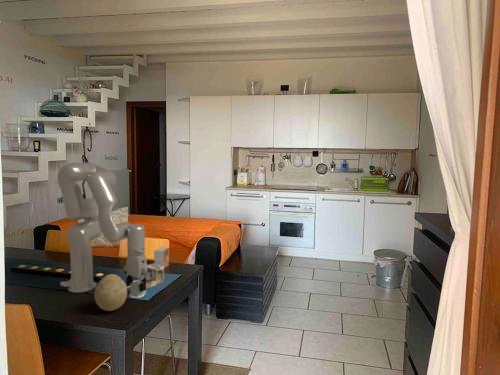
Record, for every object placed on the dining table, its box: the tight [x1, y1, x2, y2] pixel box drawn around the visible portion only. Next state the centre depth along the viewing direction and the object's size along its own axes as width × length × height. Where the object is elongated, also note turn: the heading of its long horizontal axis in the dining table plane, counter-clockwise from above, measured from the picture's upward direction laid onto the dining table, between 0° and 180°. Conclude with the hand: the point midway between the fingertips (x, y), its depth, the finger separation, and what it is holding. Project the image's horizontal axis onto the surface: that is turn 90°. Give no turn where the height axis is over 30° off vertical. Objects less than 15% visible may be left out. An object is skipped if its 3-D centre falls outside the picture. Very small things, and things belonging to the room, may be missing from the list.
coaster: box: [128, 293, 146, 299], centre depth 166 cm, size 7×7×1 cm
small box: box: [153, 246, 170, 269], centre depth 206 cm, size 8×6×10 cm
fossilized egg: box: [93, 273, 128, 312], centre depth 150 cm, size 13×13×15 cm
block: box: [129, 281, 147, 297], centre depth 165 cm, size 5×5×5 cm
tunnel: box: [125, 262, 165, 290], centre depth 177 cm, size 18×9×8 cm, turn 144°
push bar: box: [139, 273, 161, 284], centre depth 183 cm, size 12×4×2 cm, turn 143°
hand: (136, 288), depth 165 cm, fingers open, 9 cm apart
